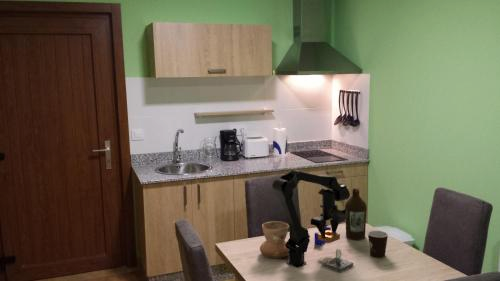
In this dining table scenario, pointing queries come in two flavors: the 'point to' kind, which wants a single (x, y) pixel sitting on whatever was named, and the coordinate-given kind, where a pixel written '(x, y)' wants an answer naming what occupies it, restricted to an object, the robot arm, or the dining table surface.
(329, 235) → the wooden square frame
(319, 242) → the cable clip
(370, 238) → the coffee mug
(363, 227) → the brown bottle
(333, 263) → the post
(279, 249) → the ceramic jug
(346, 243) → the dining table surface
